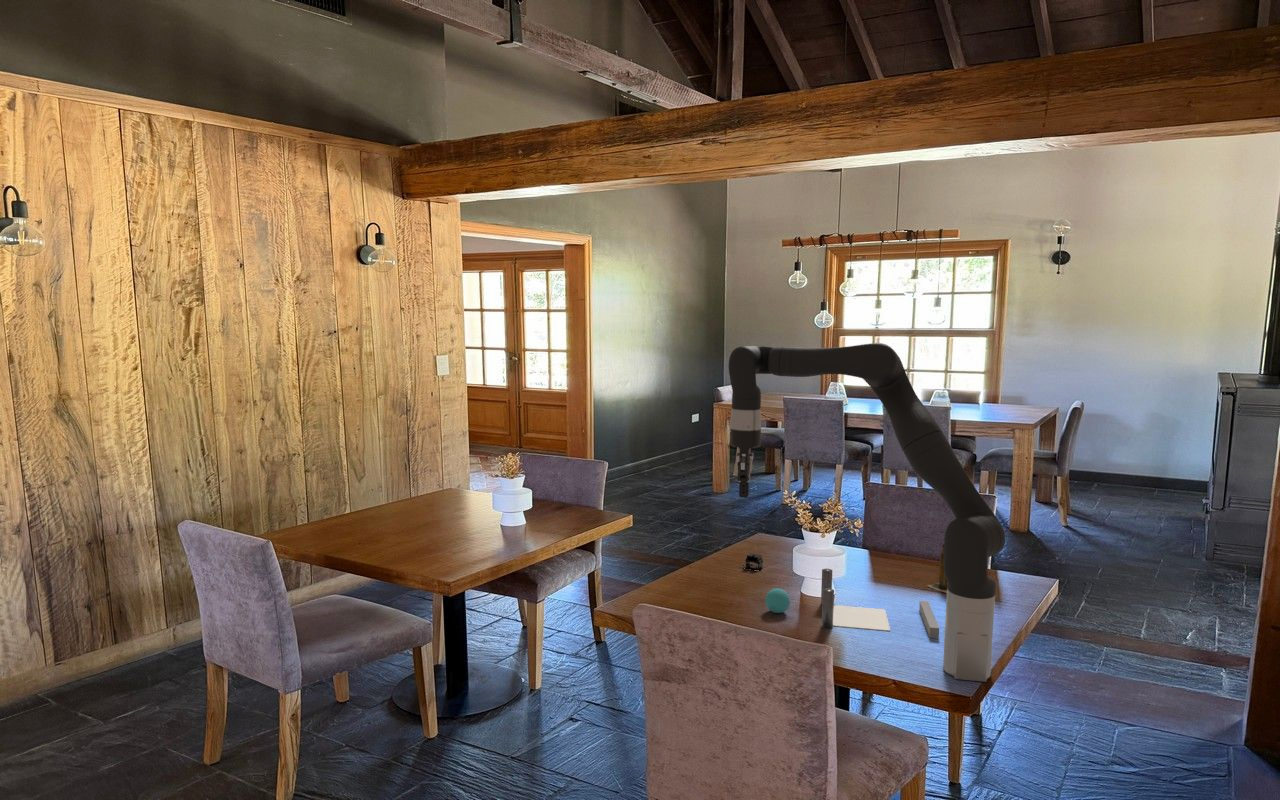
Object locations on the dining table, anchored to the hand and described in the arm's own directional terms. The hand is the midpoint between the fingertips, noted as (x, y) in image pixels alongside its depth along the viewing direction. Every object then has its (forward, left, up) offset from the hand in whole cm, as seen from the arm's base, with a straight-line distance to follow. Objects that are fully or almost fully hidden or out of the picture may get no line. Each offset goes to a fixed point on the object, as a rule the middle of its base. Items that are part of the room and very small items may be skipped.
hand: (743, 496), depth 199 cm
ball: (0, -9, -26) cm, 28 cm away
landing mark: (+1, -29, -29) cm, 41 cm away
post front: (-7, -21, -29) cm, 36 cm away
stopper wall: (+1, -45, -29) cm, 54 cm away
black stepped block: (+34, -1, -30) cm, 46 cm away
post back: (+9, -21, -29) cm, 37 cm away
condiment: (+30, -54, -29) cm, 68 cm away
